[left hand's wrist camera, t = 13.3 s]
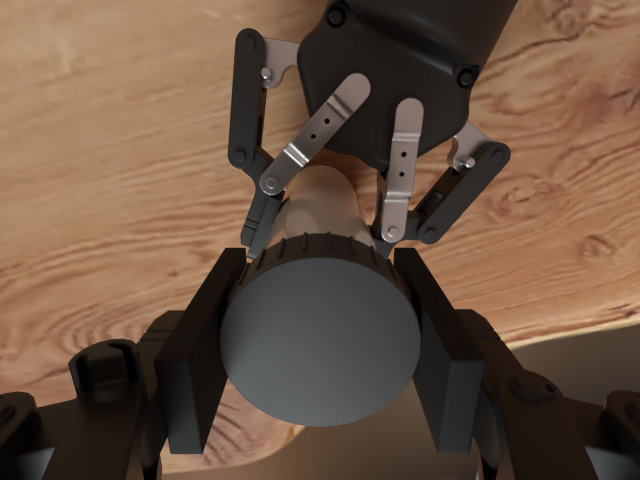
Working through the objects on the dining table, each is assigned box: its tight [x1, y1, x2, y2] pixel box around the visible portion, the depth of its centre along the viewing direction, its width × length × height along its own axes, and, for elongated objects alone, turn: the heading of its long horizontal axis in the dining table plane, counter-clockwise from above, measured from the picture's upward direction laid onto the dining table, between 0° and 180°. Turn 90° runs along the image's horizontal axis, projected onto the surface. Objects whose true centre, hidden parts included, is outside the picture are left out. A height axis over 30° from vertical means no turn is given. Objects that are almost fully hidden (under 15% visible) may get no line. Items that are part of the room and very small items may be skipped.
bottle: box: [264, 165, 378, 252], centre depth 19 cm, size 5×5×16 cm
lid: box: [219, 231, 421, 427], centre depth 11 cm, size 6×6×2 cm
